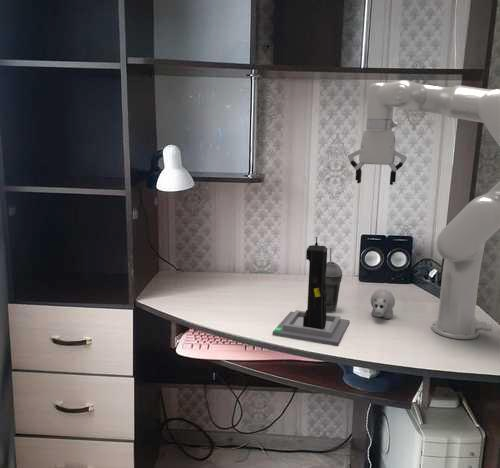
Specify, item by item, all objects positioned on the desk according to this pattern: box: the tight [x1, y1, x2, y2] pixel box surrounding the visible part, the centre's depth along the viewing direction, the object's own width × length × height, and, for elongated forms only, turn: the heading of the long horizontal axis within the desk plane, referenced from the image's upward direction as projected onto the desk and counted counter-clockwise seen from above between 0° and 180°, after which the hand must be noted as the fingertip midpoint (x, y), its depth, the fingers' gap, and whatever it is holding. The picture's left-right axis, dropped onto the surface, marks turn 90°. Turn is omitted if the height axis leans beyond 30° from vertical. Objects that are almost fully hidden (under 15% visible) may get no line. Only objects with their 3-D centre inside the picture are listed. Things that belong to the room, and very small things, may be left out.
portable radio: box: [303, 236, 328, 330], centre depth 138 cm, size 8×6×25 cm
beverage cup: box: [325, 247, 343, 313], centre depth 155 cm, size 7×7×20 cm
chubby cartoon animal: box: [370, 288, 396, 320], centre depth 150 cm, size 7×12×8 cm, turn 154°
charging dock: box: [272, 309, 350, 347], centre depth 140 cm, size 18×18×2 cm
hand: (375, 183), depth 150 cm, fingers open, 9 cm apart
